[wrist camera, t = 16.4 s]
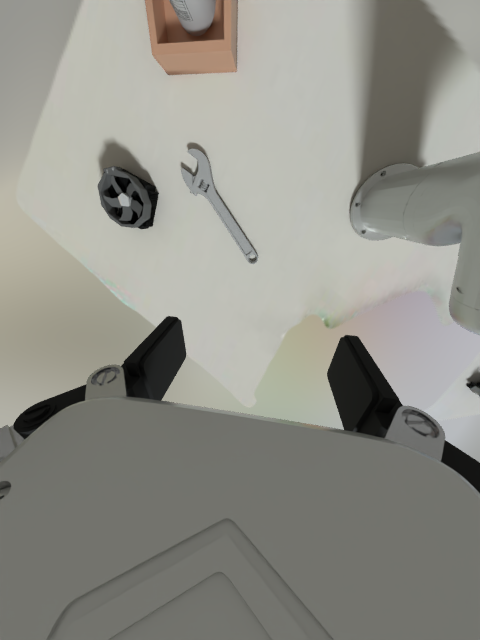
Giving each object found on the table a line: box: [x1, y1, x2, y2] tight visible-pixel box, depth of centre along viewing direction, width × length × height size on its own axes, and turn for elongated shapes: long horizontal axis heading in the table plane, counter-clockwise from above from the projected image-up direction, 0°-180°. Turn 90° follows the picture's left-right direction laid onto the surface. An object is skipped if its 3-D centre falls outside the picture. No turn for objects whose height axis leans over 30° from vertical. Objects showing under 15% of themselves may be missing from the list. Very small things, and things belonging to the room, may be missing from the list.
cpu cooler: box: [98, 166, 159, 229], centre depth 41 cm, size 10×6×10 cm
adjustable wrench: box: [181, 149, 258, 264], centre depth 42 cm, size 25×6×2 cm, turn 31°
